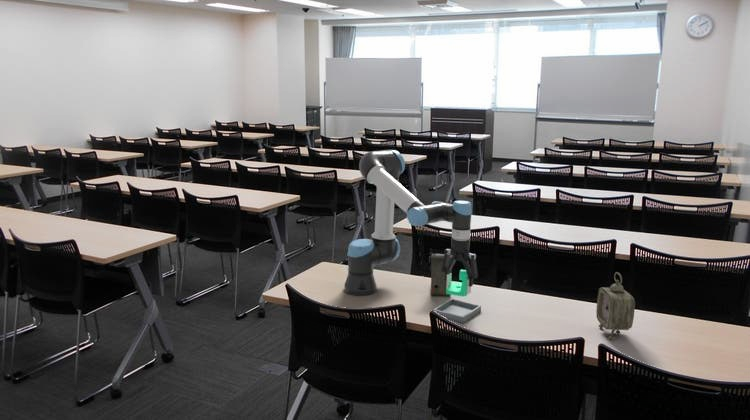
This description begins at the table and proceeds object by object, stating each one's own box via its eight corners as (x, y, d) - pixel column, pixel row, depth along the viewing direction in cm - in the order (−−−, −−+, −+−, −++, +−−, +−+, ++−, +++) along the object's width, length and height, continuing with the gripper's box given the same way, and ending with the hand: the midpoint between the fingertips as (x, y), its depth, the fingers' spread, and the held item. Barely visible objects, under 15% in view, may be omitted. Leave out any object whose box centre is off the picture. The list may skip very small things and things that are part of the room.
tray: (432, 315, 235) (433, 309, 235) (451, 303, 248) (451, 298, 248) (463, 323, 227) (463, 317, 227) (480, 311, 240) (481, 305, 240)
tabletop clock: (594, 326, 227) (600, 266, 222) (617, 326, 227) (623, 267, 222) (607, 341, 213) (614, 278, 208) (632, 342, 213) (639, 279, 207)
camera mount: (453, 287, 243) (454, 264, 241) (470, 289, 240) (471, 266, 238) (445, 296, 232) (446, 272, 230) (463, 299, 229) (464, 275, 227)
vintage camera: (450, 287, 271) (451, 246, 267) (451, 297, 256) (452, 254, 252) (430, 286, 272) (430, 246, 268) (430, 296, 256) (430, 254, 253)
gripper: (433, 236, 234) (431, 288, 239) (480, 244, 222) (477, 299, 227) (442, 232, 240) (440, 283, 245) (488, 240, 228) (485, 294, 233)
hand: (458, 290), depth 236 cm, fingers closed on camera mount, 8 cm apart
